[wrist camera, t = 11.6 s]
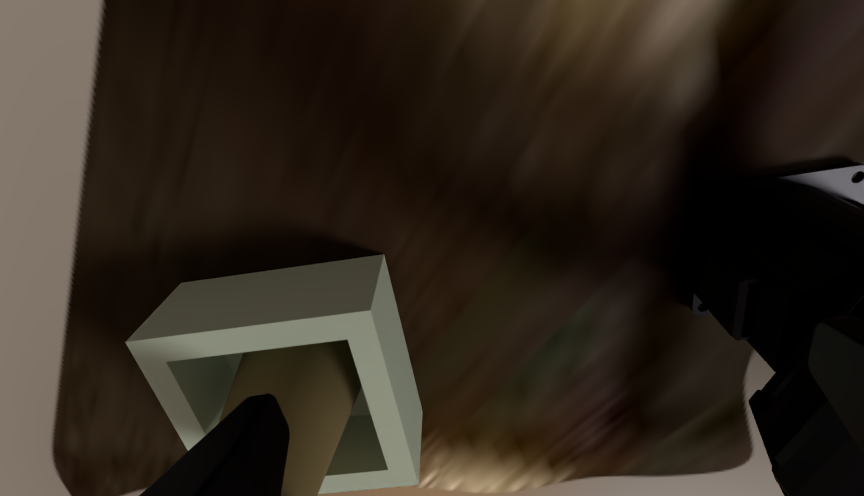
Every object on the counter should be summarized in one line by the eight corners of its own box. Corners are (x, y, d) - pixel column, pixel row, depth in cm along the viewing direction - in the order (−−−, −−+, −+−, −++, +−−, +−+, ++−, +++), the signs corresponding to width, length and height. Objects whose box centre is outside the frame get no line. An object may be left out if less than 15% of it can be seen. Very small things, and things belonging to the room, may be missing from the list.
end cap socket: (383, 254, 22) (370, 310, 18) (422, 411, 26) (418, 484, 22) (180, 282, 23) (125, 342, 19) (251, 429, 27) (218, 503, 23)
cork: (231, 387, 24) (90, 641, 15) (262, 297, 22) (116, 534, 12) (342, 424, 26) (279, 685, 16) (384, 342, 23) (339, 594, 13)
